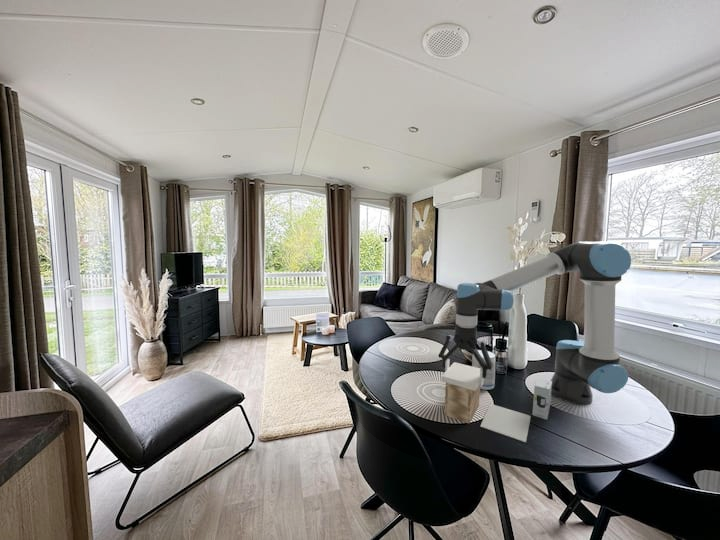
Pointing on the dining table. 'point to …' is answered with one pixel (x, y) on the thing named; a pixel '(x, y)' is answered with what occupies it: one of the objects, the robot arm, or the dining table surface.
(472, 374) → the lid
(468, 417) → the box
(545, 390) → the ink box
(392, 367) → the dining table surface
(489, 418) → the mat
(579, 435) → the dining table surface
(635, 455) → the dining table surface
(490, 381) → the supplement tub
